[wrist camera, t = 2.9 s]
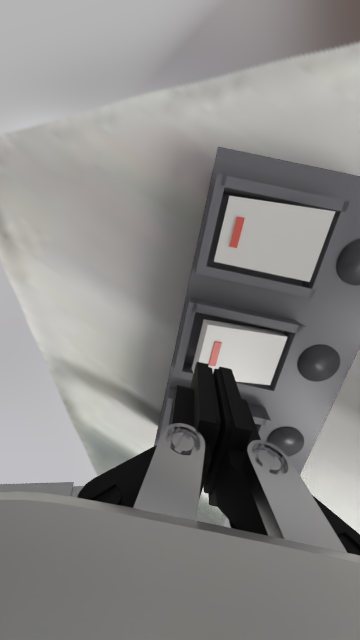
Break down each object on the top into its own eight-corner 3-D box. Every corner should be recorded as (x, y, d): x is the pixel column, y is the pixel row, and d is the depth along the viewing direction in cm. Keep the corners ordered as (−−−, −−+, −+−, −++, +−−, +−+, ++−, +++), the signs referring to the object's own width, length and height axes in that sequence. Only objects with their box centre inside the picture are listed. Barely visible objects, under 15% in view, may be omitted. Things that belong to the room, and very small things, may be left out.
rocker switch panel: (382, 205, 18) (461, 183, 13) (278, 453, 25) (301, 505, 20) (213, 169, 18) (220, 133, 13) (158, 426, 26) (148, 472, 20)
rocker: (327, 216, 14) (336, 211, 12) (304, 280, 15) (310, 282, 14) (230, 201, 15) (229, 195, 14) (215, 261, 16) (213, 261, 15)
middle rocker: (278, 331, 17) (288, 337, 16) (262, 376, 18) (270, 385, 17) (203, 319, 16) (208, 325, 15) (191, 368, 17) (195, 378, 16)
